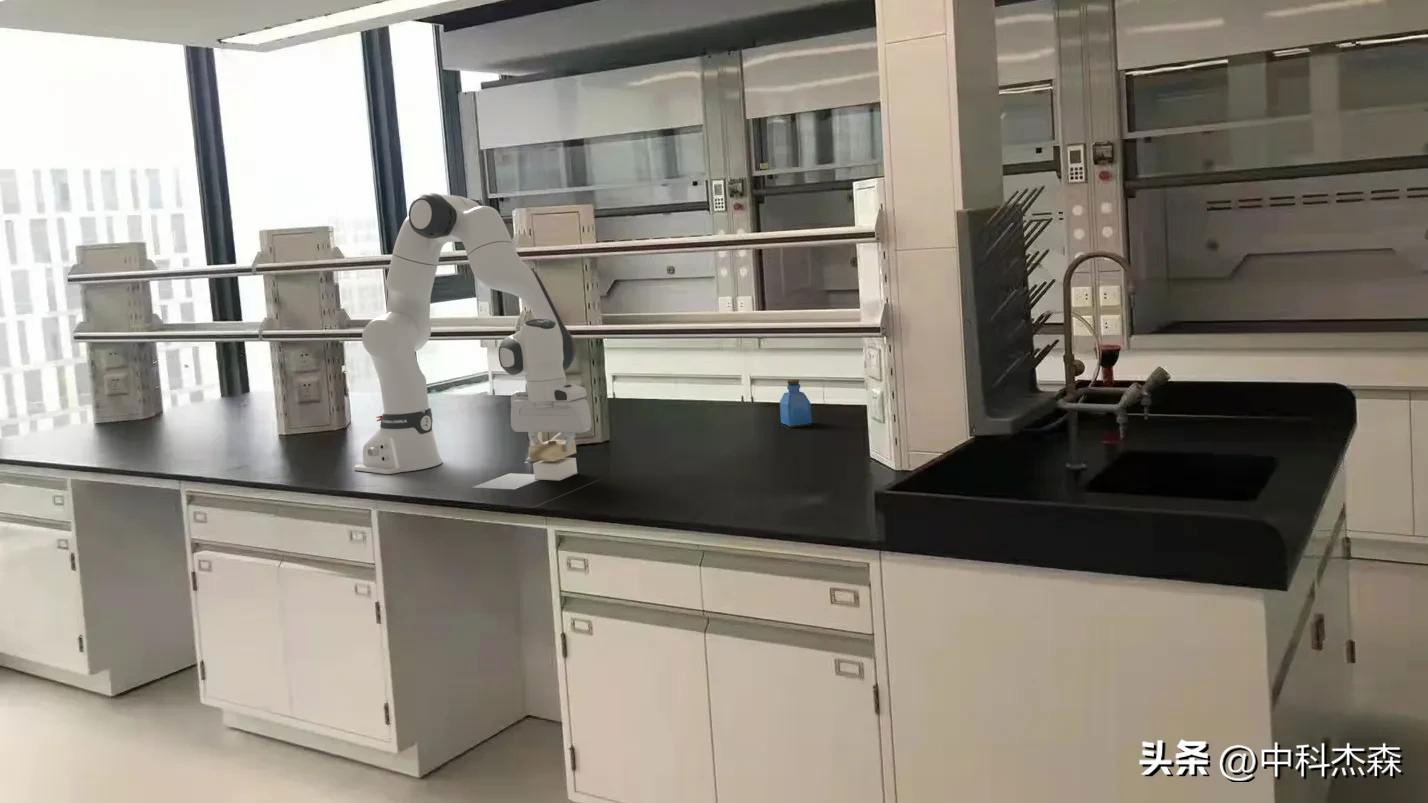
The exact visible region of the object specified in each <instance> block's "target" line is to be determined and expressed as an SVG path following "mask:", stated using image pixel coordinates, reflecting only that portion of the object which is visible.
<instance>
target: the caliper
mask: <svg viewBox="0 0 1428 803" xmlns="http://www.w3.org/2000/svg"><path fill="white" fill-rule="evenodd" d="M550 440H567V437H565V433H563V432H557V434H555V435H554V436H553V437H551V438H550ZM531 462H533V461H532V460H530V456H528V457H526V459H525V462H524V464H529V463H531Z"/></svg>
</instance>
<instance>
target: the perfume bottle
mask: <svg viewBox="0 0 1428 803" xmlns="http://www.w3.org/2000/svg"><path fill="white" fill-rule="evenodd" d="M786 389H787V390H788V392H784V393H783V394H782V397H781V398H780V399H779V400H780V401H779V410H780V424H781V423H783V424H786V425H788V426H793V425H801V424H807V423H812V411H811V402H810V400H809V398H808V396H806V393H805V392H802V391H800V389H801V384H800V379H788V380H787V385H786Z"/></svg>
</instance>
